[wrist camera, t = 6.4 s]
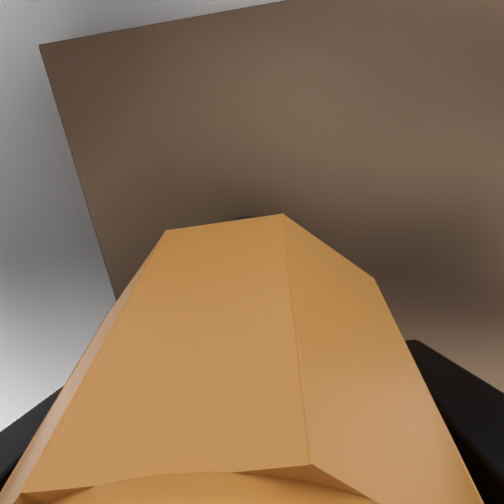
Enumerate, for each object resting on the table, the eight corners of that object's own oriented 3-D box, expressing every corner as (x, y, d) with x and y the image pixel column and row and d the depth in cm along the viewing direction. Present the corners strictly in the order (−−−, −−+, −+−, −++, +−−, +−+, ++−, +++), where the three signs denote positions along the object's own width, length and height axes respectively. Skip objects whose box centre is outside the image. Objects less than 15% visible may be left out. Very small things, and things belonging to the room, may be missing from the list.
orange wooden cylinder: (385, 429, 10) (538, 900, 4) (151, 453, 10) (22, 910, 5) (371, 198, 8) (610, 520, 2) (82, 239, 8) (-262, 594, 3)
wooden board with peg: (509, 458, 17) (639, 672, 11) (190, 489, 18) (155, 701, 12) (544, -41, 11) (862, -146, 5) (63, 46, 12) (-128, 39, 6)
